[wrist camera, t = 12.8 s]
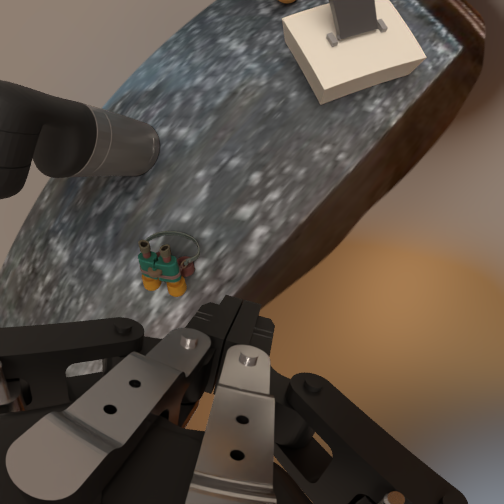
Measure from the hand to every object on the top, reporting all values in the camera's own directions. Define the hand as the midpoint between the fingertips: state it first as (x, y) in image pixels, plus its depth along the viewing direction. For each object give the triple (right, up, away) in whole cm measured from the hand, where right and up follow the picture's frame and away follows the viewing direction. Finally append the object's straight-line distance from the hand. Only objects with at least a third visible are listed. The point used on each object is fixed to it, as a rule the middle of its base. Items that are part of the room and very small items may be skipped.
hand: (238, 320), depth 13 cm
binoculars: (-12, +2, +38) cm, 39 cm away
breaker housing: (+15, +33, +27) cm, 45 cm away
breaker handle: (+14, +31, +18) cm, 38 cm away
